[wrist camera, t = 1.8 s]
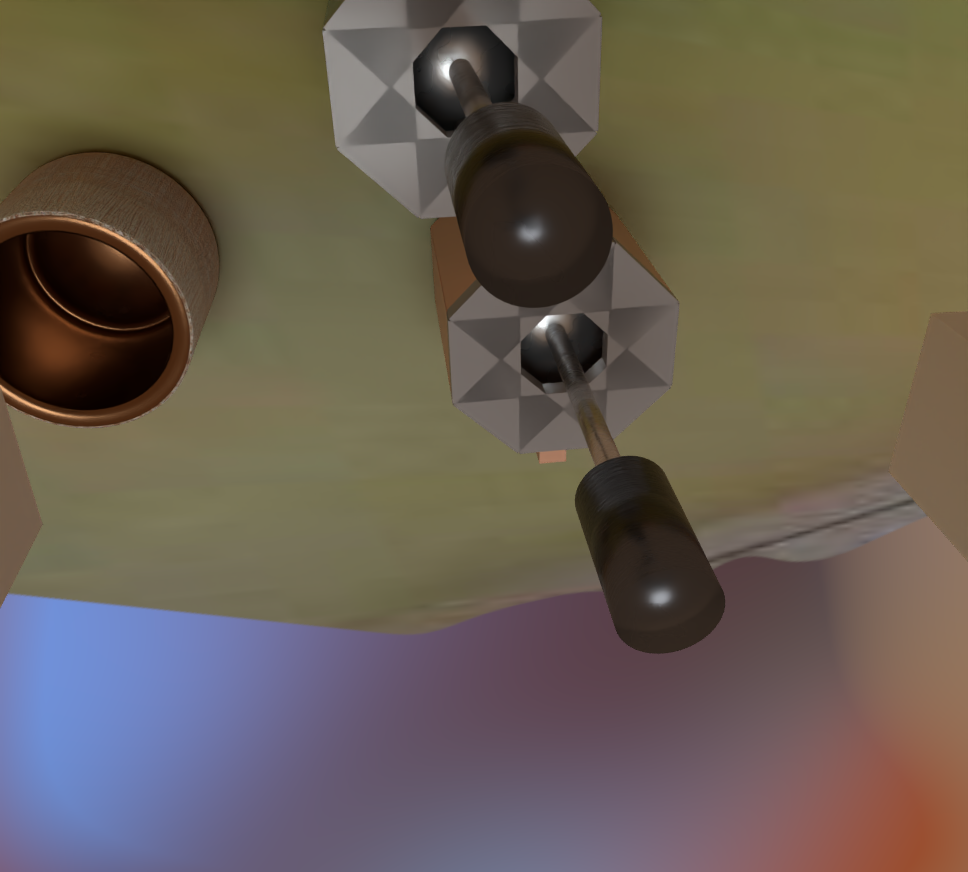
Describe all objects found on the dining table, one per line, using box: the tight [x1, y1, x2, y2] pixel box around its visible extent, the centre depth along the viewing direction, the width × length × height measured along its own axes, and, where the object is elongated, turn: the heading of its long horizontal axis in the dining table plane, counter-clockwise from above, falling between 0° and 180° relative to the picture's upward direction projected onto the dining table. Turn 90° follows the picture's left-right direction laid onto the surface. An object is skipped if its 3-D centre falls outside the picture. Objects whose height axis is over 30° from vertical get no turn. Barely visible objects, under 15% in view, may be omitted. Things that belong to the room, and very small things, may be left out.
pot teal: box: [323, 0, 602, 219], centre depth 40 cm, size 13×10×12 cm
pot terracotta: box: [430, 208, 679, 464], centre depth 48 cm, size 13×10×12 cm
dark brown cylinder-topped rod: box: [413, 25, 613, 308], centre depth 29 cm, size 8×8×20 cm
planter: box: [0, 152, 219, 428], centre depth 45 cm, size 11×11×10 cm
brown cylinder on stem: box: [521, 313, 725, 653], centre depth 36 cm, size 8×8×20 cm
